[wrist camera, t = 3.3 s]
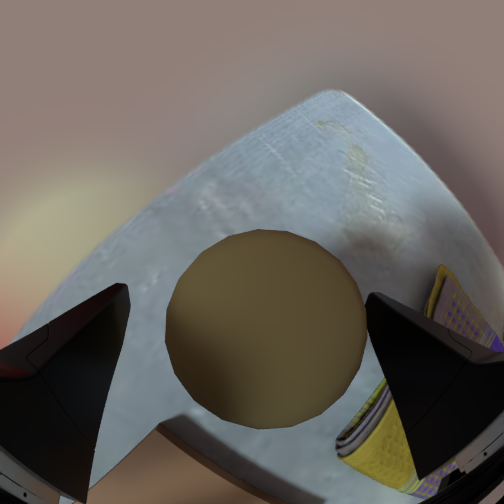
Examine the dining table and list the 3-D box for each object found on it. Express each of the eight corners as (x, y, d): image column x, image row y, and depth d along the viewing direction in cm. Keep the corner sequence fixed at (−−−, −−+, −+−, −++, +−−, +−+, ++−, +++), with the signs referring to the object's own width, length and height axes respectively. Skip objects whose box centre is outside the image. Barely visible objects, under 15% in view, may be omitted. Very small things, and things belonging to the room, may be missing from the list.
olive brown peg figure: (215, 273, 17) (225, 152, 6) (302, 319, 16) (426, 266, 6) (166, 359, 14) (82, 374, 4) (258, 406, 14) (340, 489, 4)
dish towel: (451, 512, 11) (466, 518, 8) (313, 443, 14) (330, 456, 12) (517, 387, 17) (533, 385, 14) (429, 261, 20) (449, 250, 18)
